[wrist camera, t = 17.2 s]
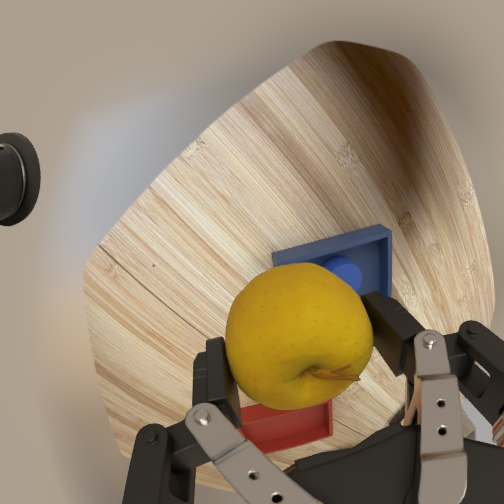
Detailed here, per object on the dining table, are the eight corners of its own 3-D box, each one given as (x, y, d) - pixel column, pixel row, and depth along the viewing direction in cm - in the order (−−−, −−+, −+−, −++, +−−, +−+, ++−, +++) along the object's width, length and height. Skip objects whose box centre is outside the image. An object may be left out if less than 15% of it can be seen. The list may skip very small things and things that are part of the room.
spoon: (355, 326, 34) (362, 337, 32) (324, 336, 34) (330, 348, 32) (351, 250, 30) (361, 259, 28) (315, 261, 30) (323, 270, 28)
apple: (346, 250, 15) (434, 333, 8) (308, 339, 17) (354, 439, 10) (237, 224, 14) (265, 318, 7) (211, 327, 16) (216, 445, 9)
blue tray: (293, 359, 36) (298, 372, 33) (271, 252, 30) (276, 262, 27) (379, 329, 36) (388, 340, 34) (379, 223, 30) (391, 230, 28)
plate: (299, 451, 48) (303, 464, 45) (393, 435, 54) (399, 444, 50) (263, 490, 57) (265, 500, 54) (345, 478, 63) (348, 487, 60)
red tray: (251, 443, 44) (253, 456, 41) (231, 410, 39) (233, 425, 36) (328, 423, 44) (332, 435, 42) (325, 385, 39) (331, 399, 36)
